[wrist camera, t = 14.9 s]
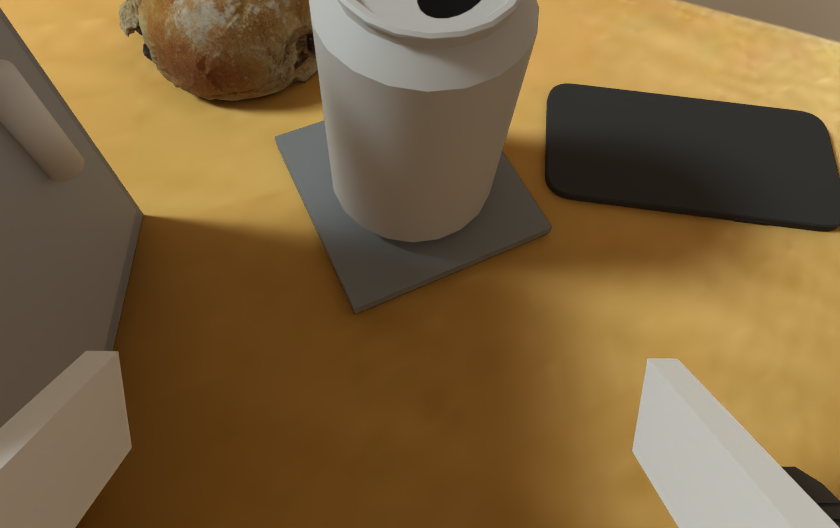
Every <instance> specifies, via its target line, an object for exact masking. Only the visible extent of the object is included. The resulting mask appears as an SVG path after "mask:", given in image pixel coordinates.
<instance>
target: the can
mask: <svg viewBox="0 0 840 528" xmlns="http://www.w3.org/2000/svg"><path fill="white" fill-rule="evenodd" d="M309 5H310V13H311V21H312V29H313V37H314V45H315V52H316V60H317V68H318V75H319V83H320V90H321V98H322V106H323V113H324V121H325V129H326V136H327V144H328V152H329V159H330V167H331V175H332V182H333V190H334V192H335V194H336V196H337V198H338V200H339V202H340V204H341V205H342V207H343V209H344V211H345V212H346V213H347V214H348V215H350V216H351V217H352V218H353V219H354V220H355V221H356V222H357V223H358V224H359V225H360V226H362V227H363V228H365V229H367V230H369V231H371V232H374V233H376V234H378V235H380V236H382V237H384V238H387V239H394V240H400V241H406V242H420V241H428V240H436V239H440V238H443V237H445V236H447V235H449V234H452V233H454V232H456V231H459V230H461V229H462V228H463V227H465V226H466V225H467V224H468V223H469V222H470V221H471V220H472V219H474V218H475V217H476V216H477V215H478V214H479V213H480V211H481V209H482V207H483V205H484V203H485V201H486V200H487V198H488V196H489V194H490V190H491V187H492V183H493V180H494V177H495V173H496V170H497V167H498V163H499V160H500V156H501V153H502V150H503V146H504V143H505V140H506V136H507V133H508V129H509V126H510V123H511V119H512V116H513V113H514V109H515V106H516V102H517V99H518V96H519V92H520V89H521V86H522V82H523V79H524V75H525V72H526V69H527V65H528V62H529V59H530V55H531V52H532V49H533V45H534V42H535V38H536V35H537V28H538V15H539V6H538V3H537V1H536V0H309Z"/></svg>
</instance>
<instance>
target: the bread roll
mask: <svg viewBox="0 0 840 528" xmlns="http://www.w3.org/2000/svg"><path fill="white" fill-rule="evenodd" d="M119 16H120V27H121V29H122V30H123V31H124V32H125V34H126V35H127V36H128V37H129V34H131V33H134V31H135V30H136V31H137V32H138V33H139V34H140V35H143V39H144V42H145V44H144V45H143V53H144V55H145V56H146V57H147V58H148V59H150V60H151V61H153V62H154V63H155V64H156V66H157V69H158V70H159V71H160V73H161V74H162V75H163V76H164V77H165V78H166V79H167V80H169V81H171V82H173V83H174V85H175V87H180V88H182V89H184V90H186V91H189V92H191V93H192V94H195V95H197V96H200V97H202V98H205V99H208V100H213V99H219V100H228V101H237V100H242V99H247V98H256V97H261V96H266V95H270V94H273V93H276V92H279V91H281V90H284V89H285V88H286V87H288V86H289V85H290V84H291V83H292V82H293V81H302V82H306V81H307V80H308V79H309V78H310V77H311V76H312V75H314V74H315V73H316V71H317V69H318V68H317V60H316V52H315V45H314V37H313V29H312V21H311V13H310V5H309V0H126V1H125V2H124V3H123V4H121V6H120V10H119Z"/></svg>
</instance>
